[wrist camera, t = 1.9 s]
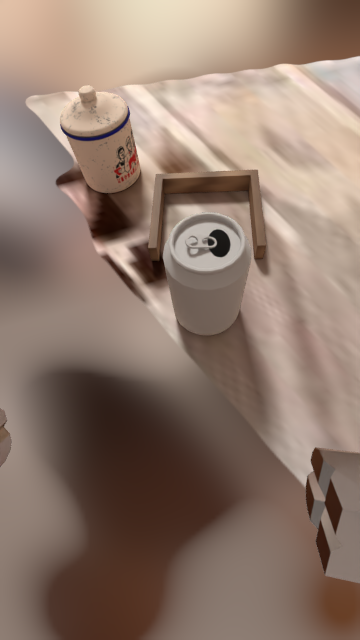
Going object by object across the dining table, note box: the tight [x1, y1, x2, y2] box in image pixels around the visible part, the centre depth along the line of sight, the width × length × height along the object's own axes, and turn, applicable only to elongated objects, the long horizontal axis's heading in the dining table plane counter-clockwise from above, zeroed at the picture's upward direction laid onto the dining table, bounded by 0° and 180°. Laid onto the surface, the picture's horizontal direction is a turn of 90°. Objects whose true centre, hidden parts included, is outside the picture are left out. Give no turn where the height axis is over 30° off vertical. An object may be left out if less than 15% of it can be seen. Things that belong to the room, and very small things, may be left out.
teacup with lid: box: [60, 86, 140, 193], centre depth 41 cm, size 12×9×12 cm
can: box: [163, 212, 251, 335], centre depth 29 cm, size 8×8×12 cm
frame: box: [148, 170, 266, 261], centre depth 39 cm, size 14×13×2 cm
